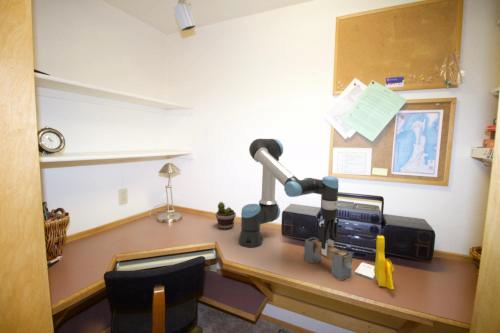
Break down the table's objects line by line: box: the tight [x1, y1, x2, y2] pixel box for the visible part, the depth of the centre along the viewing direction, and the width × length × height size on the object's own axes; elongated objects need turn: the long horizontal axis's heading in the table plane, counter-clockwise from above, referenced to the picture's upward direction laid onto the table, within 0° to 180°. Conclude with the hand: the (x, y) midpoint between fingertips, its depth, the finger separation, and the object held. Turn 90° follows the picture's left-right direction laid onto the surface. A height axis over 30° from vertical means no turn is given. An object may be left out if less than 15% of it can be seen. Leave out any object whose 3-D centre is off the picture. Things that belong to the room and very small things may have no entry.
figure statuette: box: [374, 235, 395, 290], centre depth 105 cm, size 18×8×22 cm, turn 161°
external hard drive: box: [353, 261, 376, 281], centre depth 116 cm, size 2×8×12 cm
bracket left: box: [303, 236, 322, 265], centre depth 126 cm, size 6×7×11 cm
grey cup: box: [331, 249, 354, 281], centre depth 111 cm, size 6×7×11 cm
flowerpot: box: [215, 200, 237, 230], centre depth 171 cm, size 14×15×20 cm
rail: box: [311, 239, 347, 262], centre depth 118 cm, size 19×4×5 cm, turn 34°
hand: (327, 253), depth 118 cm, fingers open, 4 cm apart
